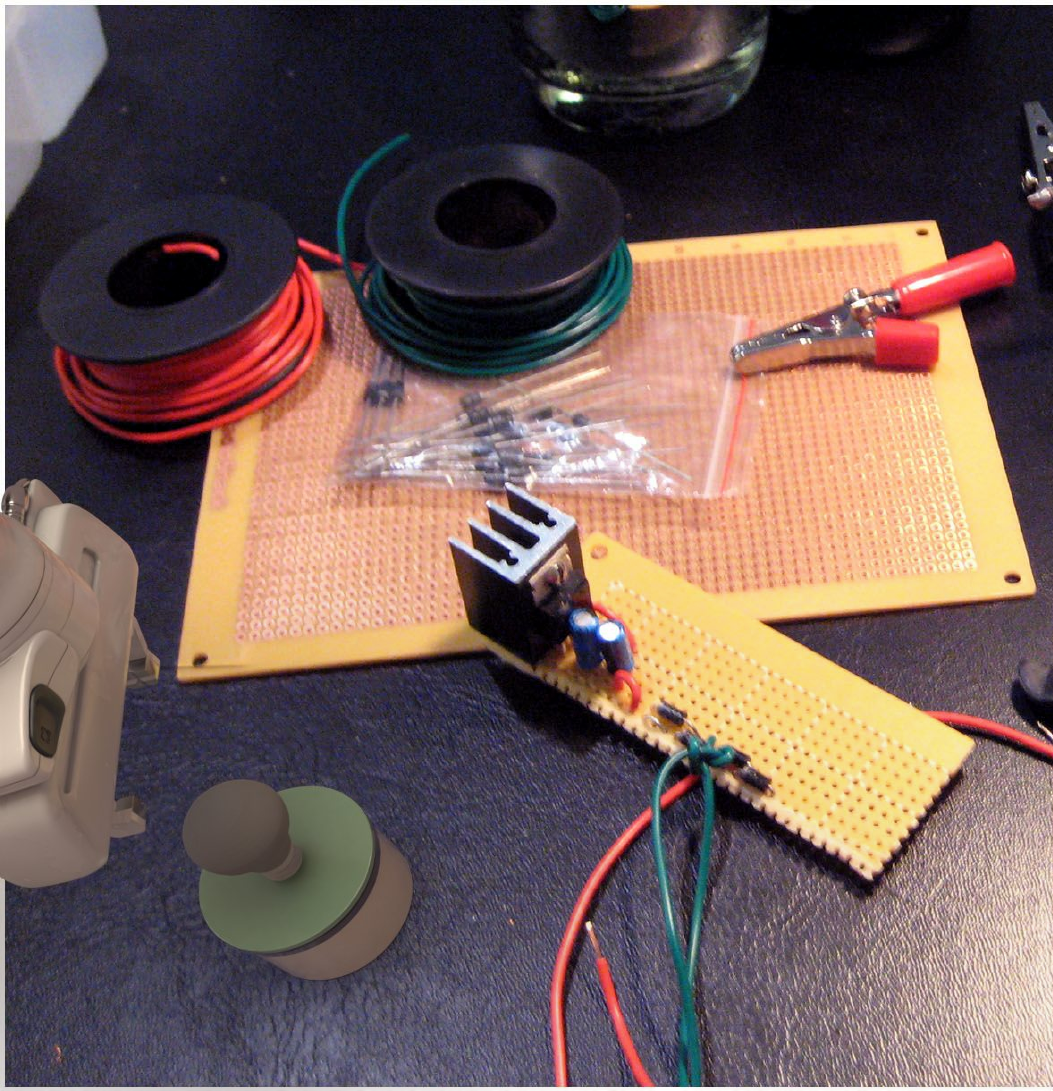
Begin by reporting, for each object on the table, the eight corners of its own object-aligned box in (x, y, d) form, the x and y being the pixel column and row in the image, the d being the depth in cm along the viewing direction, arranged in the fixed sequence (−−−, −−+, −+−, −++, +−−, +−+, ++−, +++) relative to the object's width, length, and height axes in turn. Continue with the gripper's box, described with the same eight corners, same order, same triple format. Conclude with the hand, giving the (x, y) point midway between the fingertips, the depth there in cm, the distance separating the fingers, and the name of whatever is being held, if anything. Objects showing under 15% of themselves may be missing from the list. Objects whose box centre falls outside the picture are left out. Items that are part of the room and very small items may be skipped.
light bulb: (318, 907, 81) (246, 855, 72) (229, 908, 81) (148, 857, 73) (340, 821, 84) (275, 763, 76) (255, 823, 84) (180, 764, 76)
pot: (255, 1004, 86) (193, 972, 79) (260, 852, 92) (202, 809, 85) (421, 959, 87) (374, 924, 80) (414, 812, 93) (370, 767, 86)
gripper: (-50, 474, 63) (100, 610, 74) (-131, 838, 52) (61, 932, 63) (77, 448, 64) (207, 586, 75) (25, 801, 53) (186, 900, 64)
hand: (140, 747), depth 69 cm, fingers open, 8 cm apart
